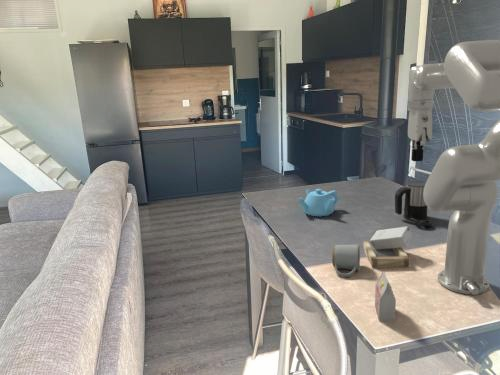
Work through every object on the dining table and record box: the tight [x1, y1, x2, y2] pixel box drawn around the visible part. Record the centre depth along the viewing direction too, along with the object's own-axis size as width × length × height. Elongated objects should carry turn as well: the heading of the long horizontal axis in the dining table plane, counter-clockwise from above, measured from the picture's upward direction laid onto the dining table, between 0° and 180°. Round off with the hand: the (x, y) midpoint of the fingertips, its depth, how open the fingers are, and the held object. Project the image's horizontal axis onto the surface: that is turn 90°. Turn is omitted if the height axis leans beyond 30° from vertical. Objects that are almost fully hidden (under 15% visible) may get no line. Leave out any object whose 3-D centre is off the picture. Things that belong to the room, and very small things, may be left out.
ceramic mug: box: [331, 244, 361, 278], centre depth 118 cm, size 11×8×8 cm
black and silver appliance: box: [394, 180, 433, 228], centre depth 152 cm, size 14×16×15 cm
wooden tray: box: [362, 240, 410, 269], centre depth 125 cm, size 14×11×3 cm
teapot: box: [297, 188, 339, 218], centre depth 169 cm, size 15×15×11 cm
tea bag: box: [374, 270, 397, 323], centre depth 95 cm, size 4×7×10 cm, turn 170°
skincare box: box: [369, 225, 414, 250], centre depth 128 cm, size 6×4×12 cm
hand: (416, 160), depth 129 cm, fingers closed
